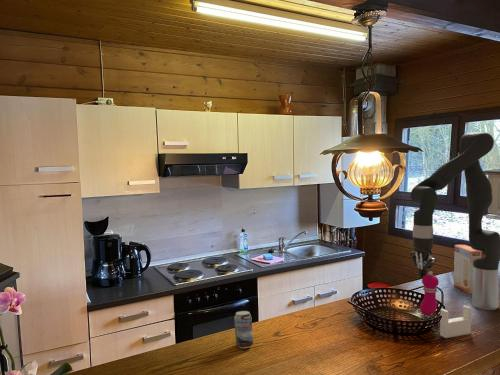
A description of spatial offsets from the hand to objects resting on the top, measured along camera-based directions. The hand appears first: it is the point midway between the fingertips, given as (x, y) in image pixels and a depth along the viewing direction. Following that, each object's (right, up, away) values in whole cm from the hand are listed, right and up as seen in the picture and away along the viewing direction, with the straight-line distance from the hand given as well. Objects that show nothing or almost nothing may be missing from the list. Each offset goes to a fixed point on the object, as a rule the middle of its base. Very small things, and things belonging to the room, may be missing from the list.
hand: (422, 277), depth 154 cm
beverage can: (-72, -19, -21) cm, 78 cm away
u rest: (+5, -17, -16) cm, 24 cm away
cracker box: (+36, -13, +30) cm, 49 cm away
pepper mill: (+2, -16, -3) cm, 17 cm away
